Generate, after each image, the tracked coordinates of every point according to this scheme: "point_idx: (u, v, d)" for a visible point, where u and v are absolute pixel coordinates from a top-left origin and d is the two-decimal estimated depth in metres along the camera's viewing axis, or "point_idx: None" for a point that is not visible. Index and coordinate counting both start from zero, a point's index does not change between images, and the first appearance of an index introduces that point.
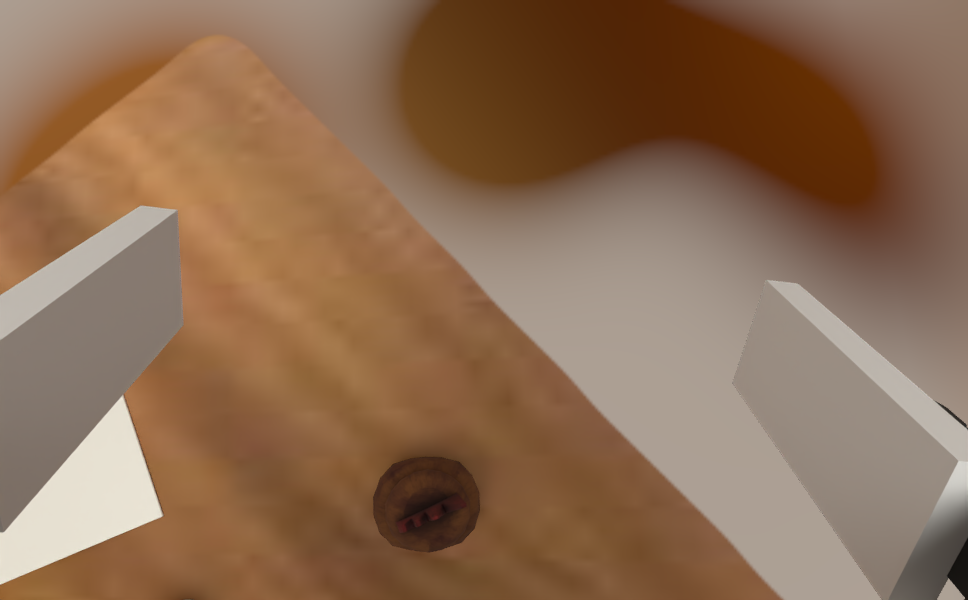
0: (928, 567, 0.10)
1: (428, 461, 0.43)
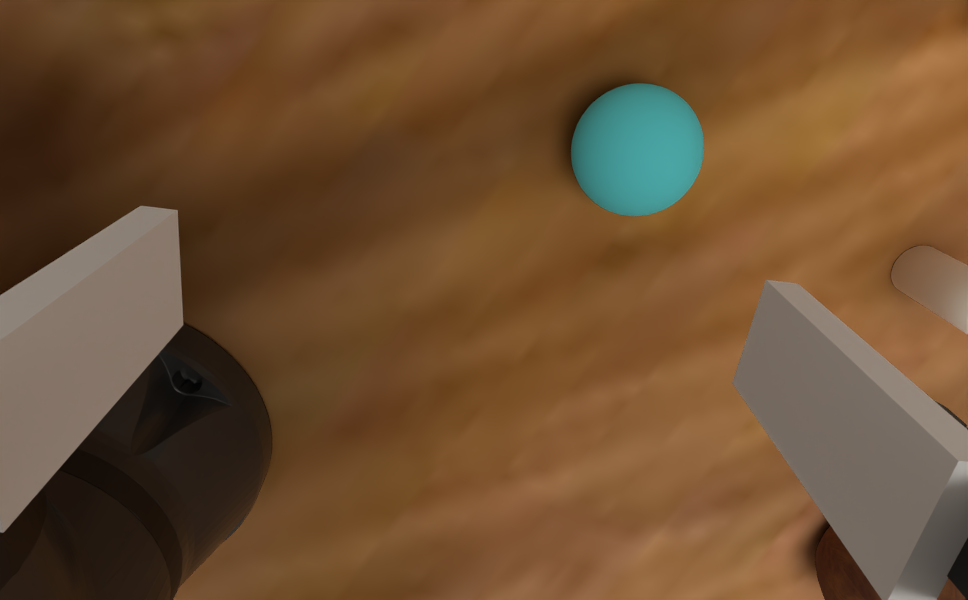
0: (928, 566, 0.10)
1: None
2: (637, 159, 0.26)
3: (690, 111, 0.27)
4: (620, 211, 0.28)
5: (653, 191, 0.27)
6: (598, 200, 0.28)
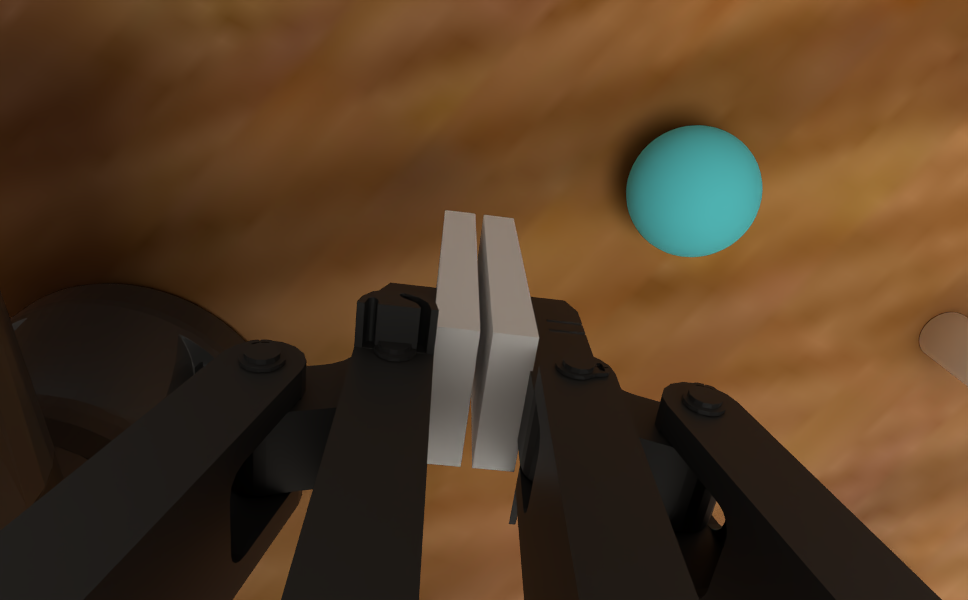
0: (499, 432, 0.12)
1: None
2: (698, 202, 0.26)
3: (753, 160, 0.27)
4: (671, 250, 0.28)
5: (709, 235, 0.27)
6: (650, 237, 0.28)
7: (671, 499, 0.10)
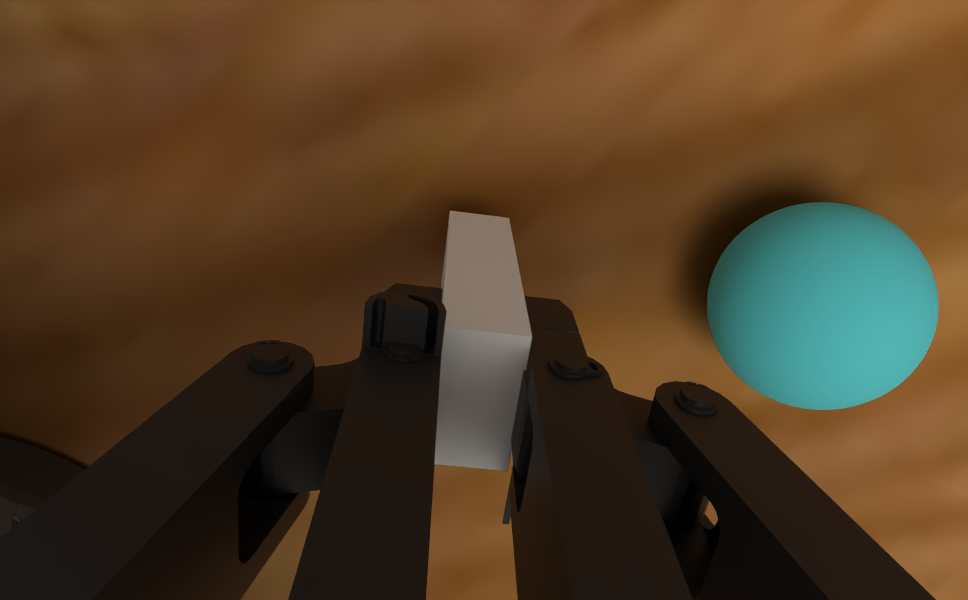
0: (492, 430, 0.12)
1: None
2: (846, 342, 0.16)
3: (927, 263, 0.17)
4: (784, 402, 0.18)
5: (858, 390, 0.16)
6: (751, 381, 0.18)
7: (664, 498, 0.10)
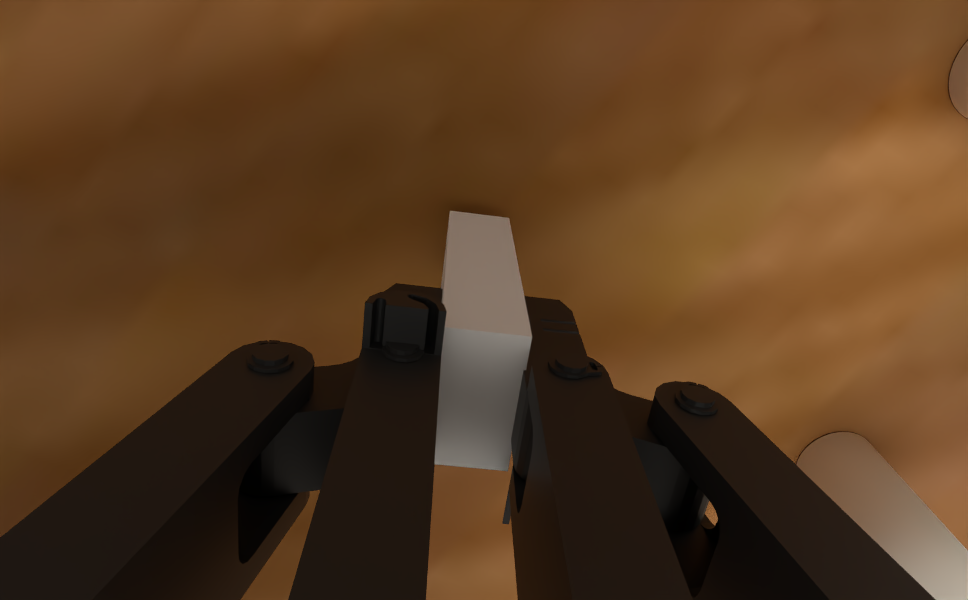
0: (492, 431, 0.12)
1: None
2: None
3: None
4: None
5: None
6: None
7: (663, 499, 0.10)
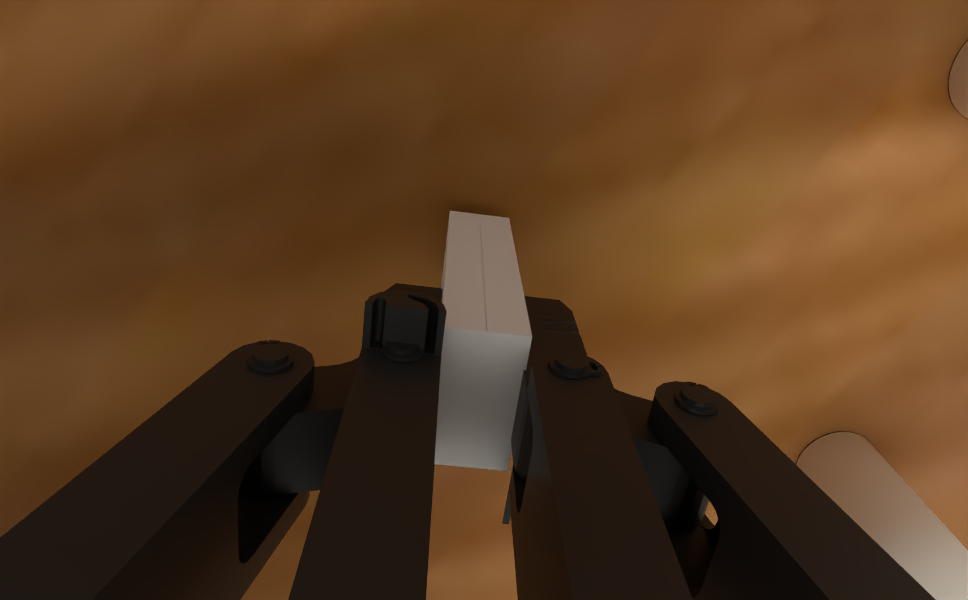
0: (492, 431, 0.12)
1: None
2: None
3: None
4: None
5: None
6: None
7: (663, 499, 0.10)
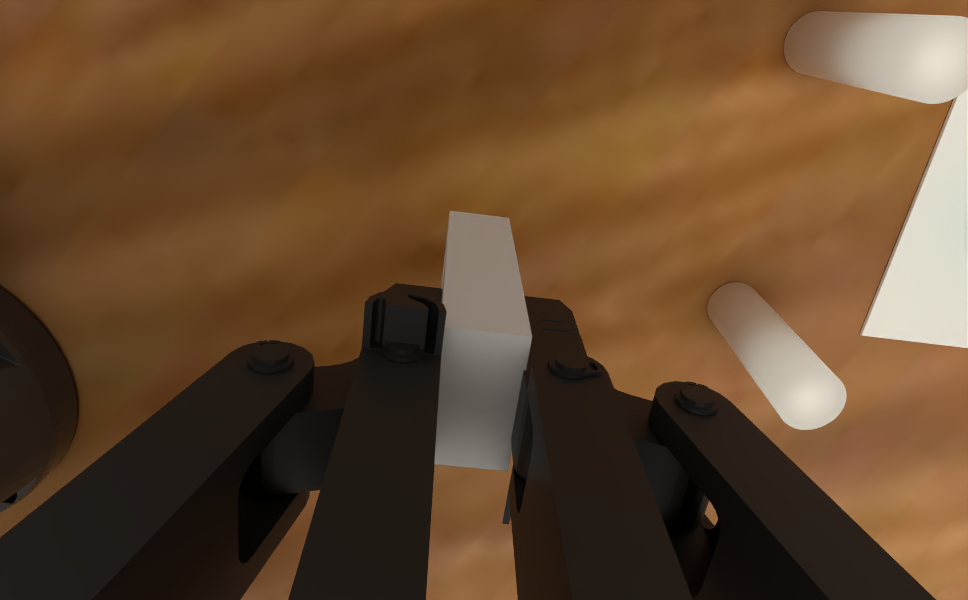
0: (492, 430, 0.12)
1: None
2: None
3: None
4: None
5: None
6: None
7: (664, 498, 0.10)
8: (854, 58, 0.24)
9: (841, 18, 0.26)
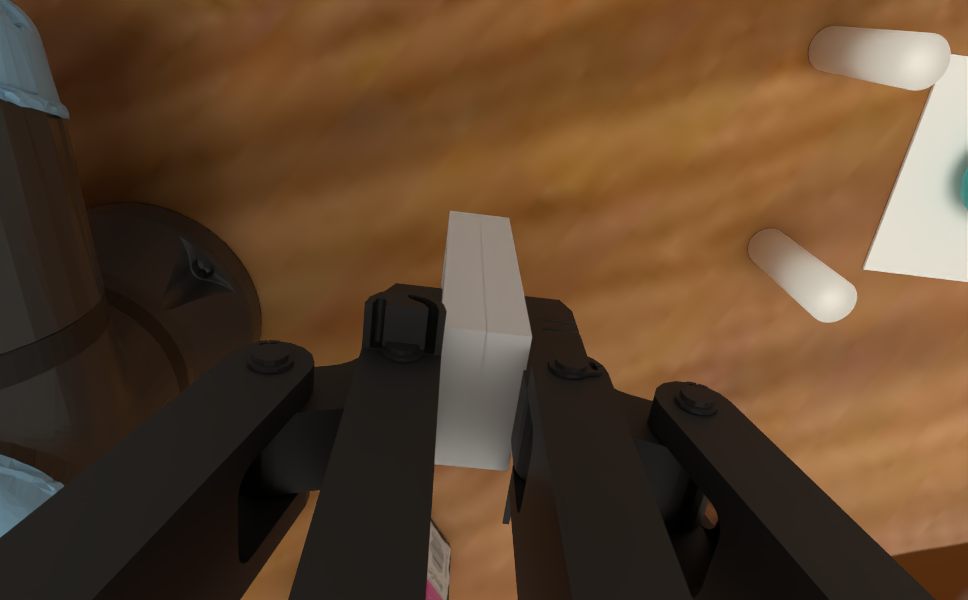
0: (492, 430, 0.12)
1: None
2: None
3: None
4: None
5: (961, 191, 0.43)
6: None
7: (663, 498, 0.10)
8: (862, 60, 0.35)
9: (852, 32, 0.37)
